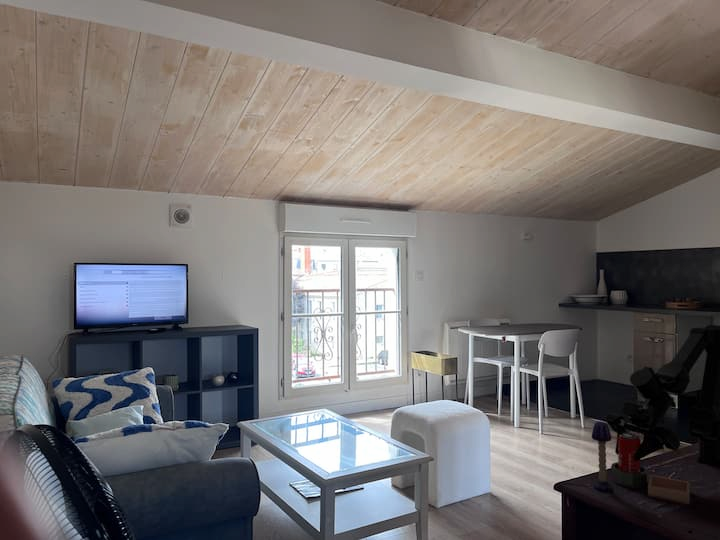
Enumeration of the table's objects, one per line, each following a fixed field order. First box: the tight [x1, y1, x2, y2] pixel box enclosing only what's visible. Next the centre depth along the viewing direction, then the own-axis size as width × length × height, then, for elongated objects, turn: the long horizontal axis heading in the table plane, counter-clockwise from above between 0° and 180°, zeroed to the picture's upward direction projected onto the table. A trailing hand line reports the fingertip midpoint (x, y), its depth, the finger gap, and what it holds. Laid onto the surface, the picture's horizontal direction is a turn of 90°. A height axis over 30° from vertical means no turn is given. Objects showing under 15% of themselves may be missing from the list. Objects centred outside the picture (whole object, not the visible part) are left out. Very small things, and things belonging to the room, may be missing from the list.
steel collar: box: [610, 461, 649, 489], centre depth 143 cm, size 8×8×4 cm
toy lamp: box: [591, 421, 613, 493], centre depth 138 cm, size 5×5×17 cm
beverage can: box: [617, 432, 642, 473], centre depth 143 cm, size 5×5×12 cm
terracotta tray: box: [647, 474, 691, 505], centre depth 135 cm, size 9×9×2 cm
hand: (625, 456), depth 143 cm, fingers closed on beverage can, 5 cm apart
